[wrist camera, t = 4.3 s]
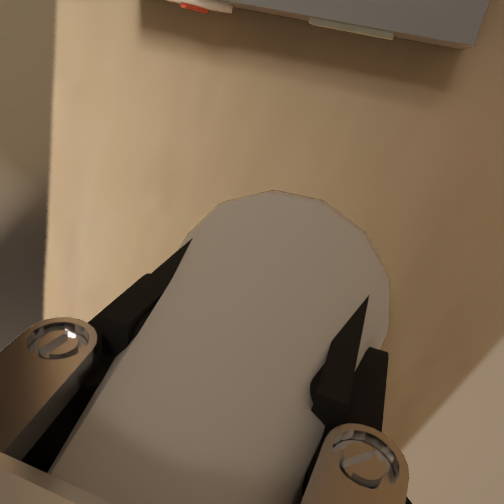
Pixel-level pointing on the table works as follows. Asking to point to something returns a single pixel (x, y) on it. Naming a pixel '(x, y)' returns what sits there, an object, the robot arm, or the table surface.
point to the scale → (373, 16)
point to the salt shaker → (231, 360)
